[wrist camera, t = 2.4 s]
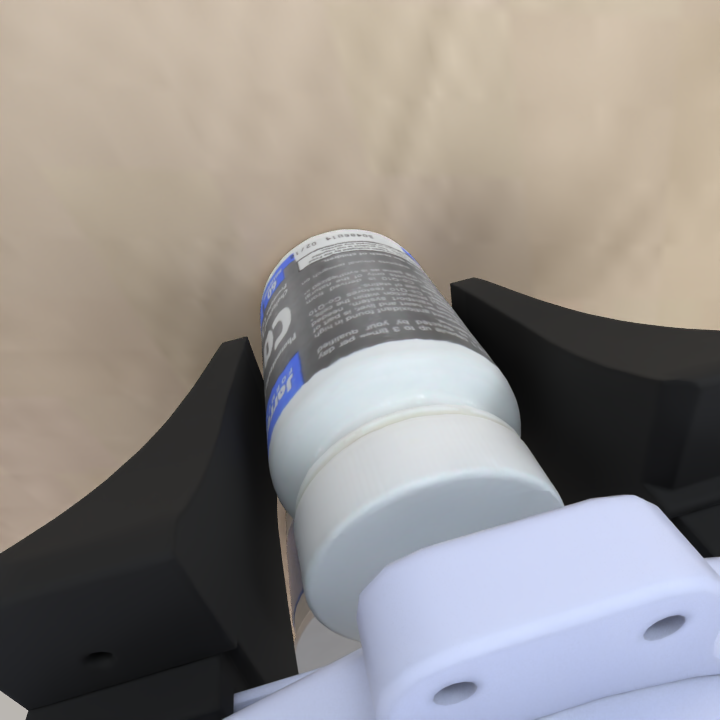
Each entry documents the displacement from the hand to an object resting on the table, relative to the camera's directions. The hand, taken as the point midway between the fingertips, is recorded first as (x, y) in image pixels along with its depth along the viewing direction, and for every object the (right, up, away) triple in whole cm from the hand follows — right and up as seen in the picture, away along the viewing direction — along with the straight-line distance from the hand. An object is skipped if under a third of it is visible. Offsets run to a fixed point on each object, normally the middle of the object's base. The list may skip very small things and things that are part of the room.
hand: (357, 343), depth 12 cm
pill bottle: (0, +1, +2) cm, 2 cm away
